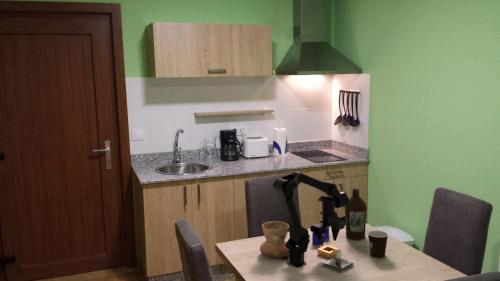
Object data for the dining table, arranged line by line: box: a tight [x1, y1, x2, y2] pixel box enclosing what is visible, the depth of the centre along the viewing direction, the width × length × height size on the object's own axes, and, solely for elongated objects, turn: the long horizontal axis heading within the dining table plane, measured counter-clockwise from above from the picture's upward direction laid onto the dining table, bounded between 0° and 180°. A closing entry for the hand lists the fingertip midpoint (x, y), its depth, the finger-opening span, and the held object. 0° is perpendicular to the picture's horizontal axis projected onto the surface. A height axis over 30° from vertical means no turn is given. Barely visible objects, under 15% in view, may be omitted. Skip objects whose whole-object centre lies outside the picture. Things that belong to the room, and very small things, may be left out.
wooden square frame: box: [317, 245, 338, 260], centre depth 206 cm, size 7×7×2 cm
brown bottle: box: [344, 187, 368, 241], centre depth 226 cm, size 11×11×25 cm
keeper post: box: [322, 248, 354, 273], centre depth 193 cm, size 9×9×8 cm
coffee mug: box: [367, 230, 389, 259], centre depth 205 cm, size 12×9×10 cm
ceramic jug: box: [259, 220, 290, 259], centre depth 207 cm, size 18×14×14 cm
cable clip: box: [311, 227, 330, 246], centre depth 223 cm, size 12×4×6 cm, turn 144°
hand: (328, 243), depth 206 cm, fingers open, 9 cm apart
